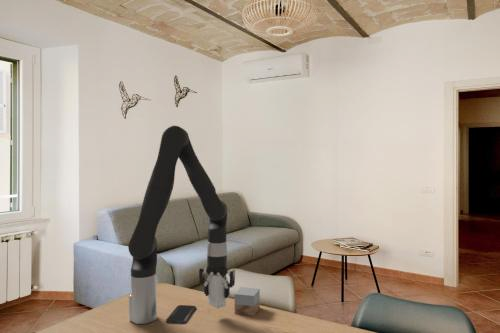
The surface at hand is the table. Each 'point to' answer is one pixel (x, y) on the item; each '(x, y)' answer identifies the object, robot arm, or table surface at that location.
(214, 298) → the skincare box
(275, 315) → the table surface
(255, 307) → the tower bottom
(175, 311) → the phone
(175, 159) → the robot arm
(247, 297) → the tower top
